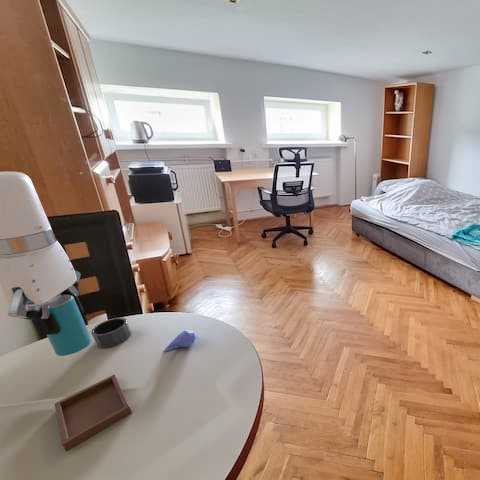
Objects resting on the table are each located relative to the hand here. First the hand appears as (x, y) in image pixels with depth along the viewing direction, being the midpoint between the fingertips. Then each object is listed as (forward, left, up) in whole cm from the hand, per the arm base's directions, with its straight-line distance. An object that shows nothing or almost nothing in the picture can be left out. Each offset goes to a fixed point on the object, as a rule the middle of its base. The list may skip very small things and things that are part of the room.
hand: (63, 322), depth 59 cm
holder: (-9, +21, -21) cm, 32 cm away
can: (0, 0, -6) cm, 6 cm away
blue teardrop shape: (+12, +15, -22) cm, 29 cm away
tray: (+1, -4, -21) cm, 22 cm away
